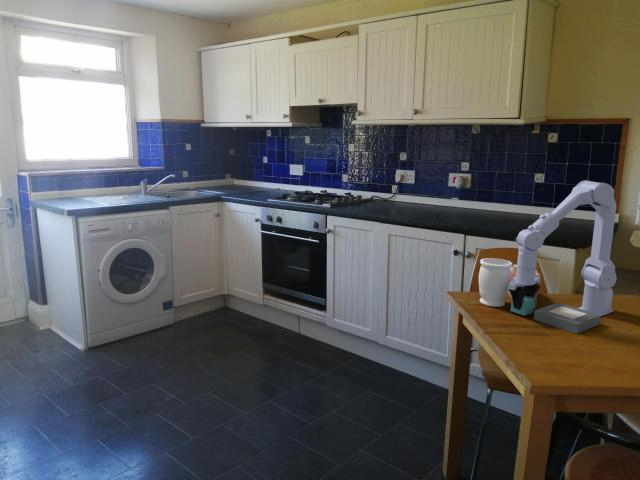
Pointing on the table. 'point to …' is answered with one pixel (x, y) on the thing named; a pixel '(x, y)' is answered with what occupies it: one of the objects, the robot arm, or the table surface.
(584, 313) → the white-inset grey tile
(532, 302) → the teal cube
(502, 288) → the jar
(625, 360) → the table surface
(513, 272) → the stack of blocks
